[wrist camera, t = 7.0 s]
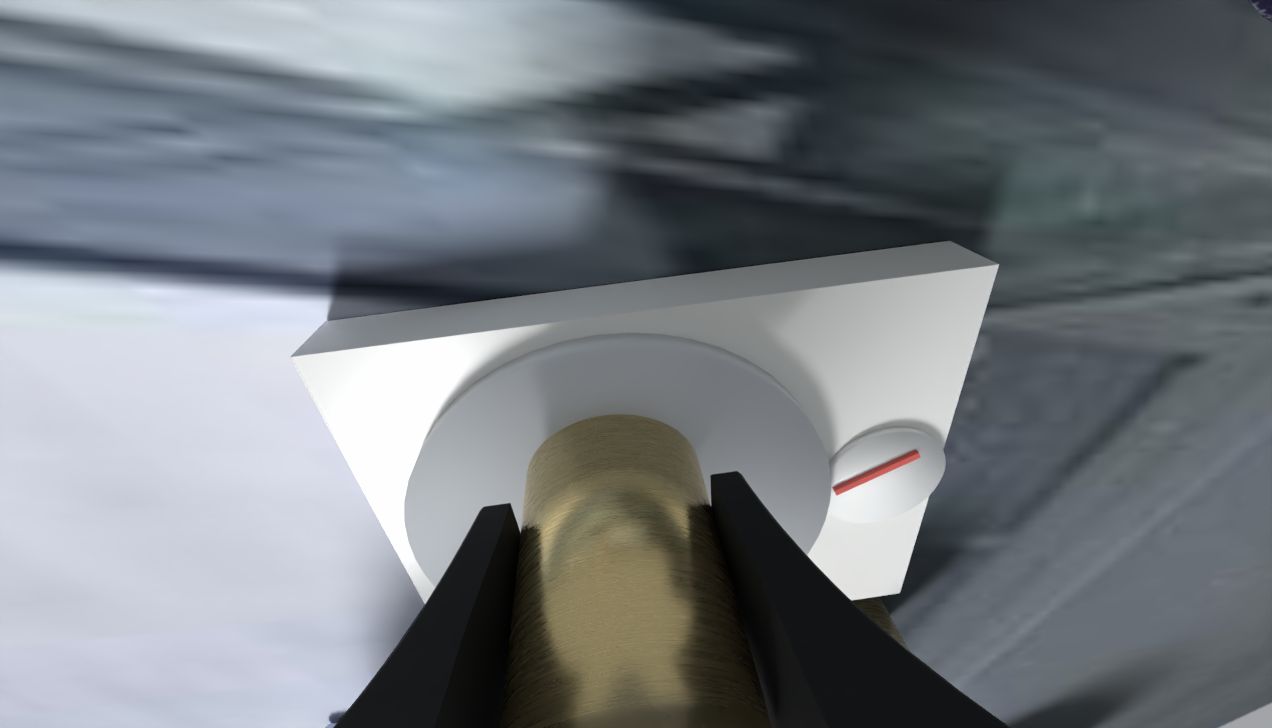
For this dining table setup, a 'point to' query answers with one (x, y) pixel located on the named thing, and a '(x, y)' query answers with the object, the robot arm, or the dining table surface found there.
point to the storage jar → (1263, 7)
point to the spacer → (624, 590)
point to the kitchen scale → (672, 395)
